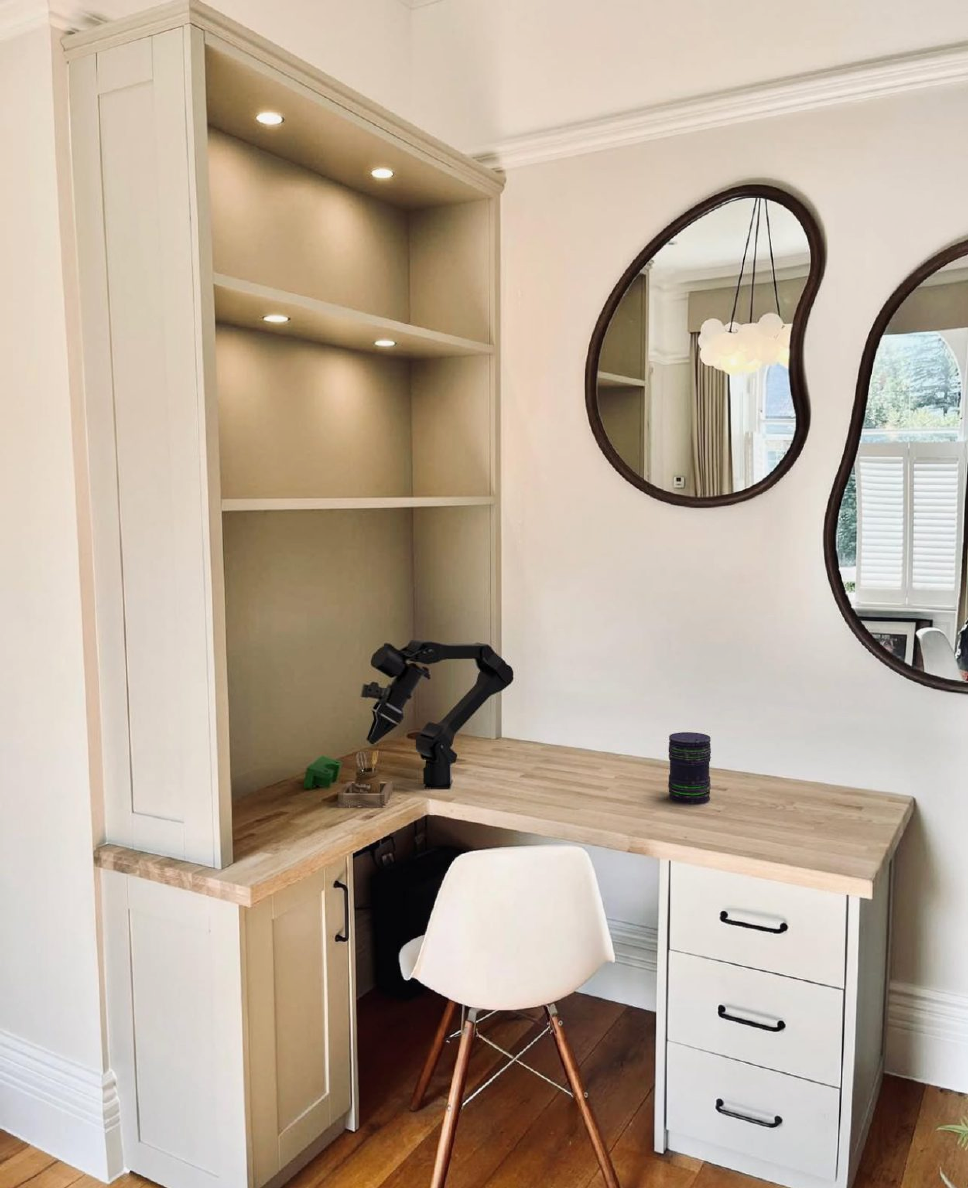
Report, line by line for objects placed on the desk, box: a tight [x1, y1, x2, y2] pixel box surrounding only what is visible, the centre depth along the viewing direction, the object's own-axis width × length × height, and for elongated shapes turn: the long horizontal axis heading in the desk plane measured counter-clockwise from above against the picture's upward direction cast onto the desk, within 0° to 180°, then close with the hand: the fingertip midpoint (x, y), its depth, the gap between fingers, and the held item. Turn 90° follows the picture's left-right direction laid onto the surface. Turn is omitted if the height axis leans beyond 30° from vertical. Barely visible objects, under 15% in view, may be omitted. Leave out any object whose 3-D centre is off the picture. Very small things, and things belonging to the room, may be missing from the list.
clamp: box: [302, 756, 343, 790], centre depth 254 cm, size 12×6×9 cm, turn 164°
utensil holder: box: [354, 750, 381, 794], centre depth 239 cm, size 6×6×12 cm
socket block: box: [337, 781, 393, 808], centre depth 240 cm, size 11×11×4 cm
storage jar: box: [667, 731, 712, 806], centre depth 237 cm, size 10×10×15 cm
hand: (369, 742), depth 241 cm, fingers open, 9 cm apart
